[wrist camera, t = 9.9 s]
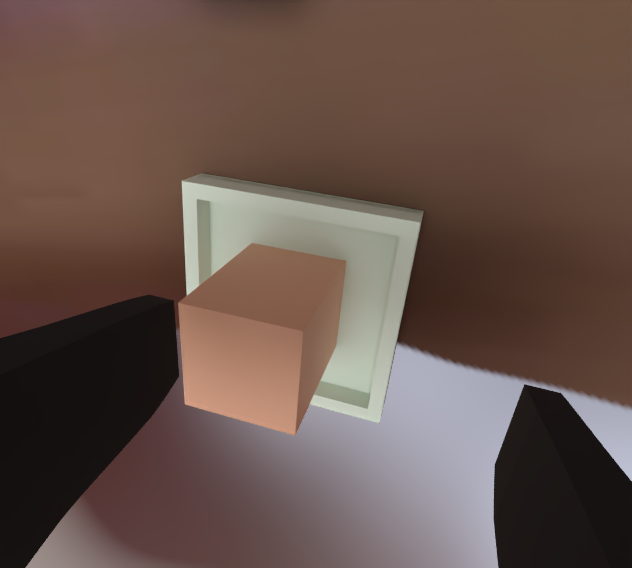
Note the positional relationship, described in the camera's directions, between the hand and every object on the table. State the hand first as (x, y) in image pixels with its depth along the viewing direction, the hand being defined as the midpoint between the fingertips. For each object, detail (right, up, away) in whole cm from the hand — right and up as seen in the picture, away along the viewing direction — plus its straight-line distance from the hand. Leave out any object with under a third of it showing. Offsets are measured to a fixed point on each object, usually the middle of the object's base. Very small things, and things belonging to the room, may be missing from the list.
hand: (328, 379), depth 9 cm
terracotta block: (-1, +1, +10) cm, 10 cm away
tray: (-1, +2, +10) cm, 10 cm away
